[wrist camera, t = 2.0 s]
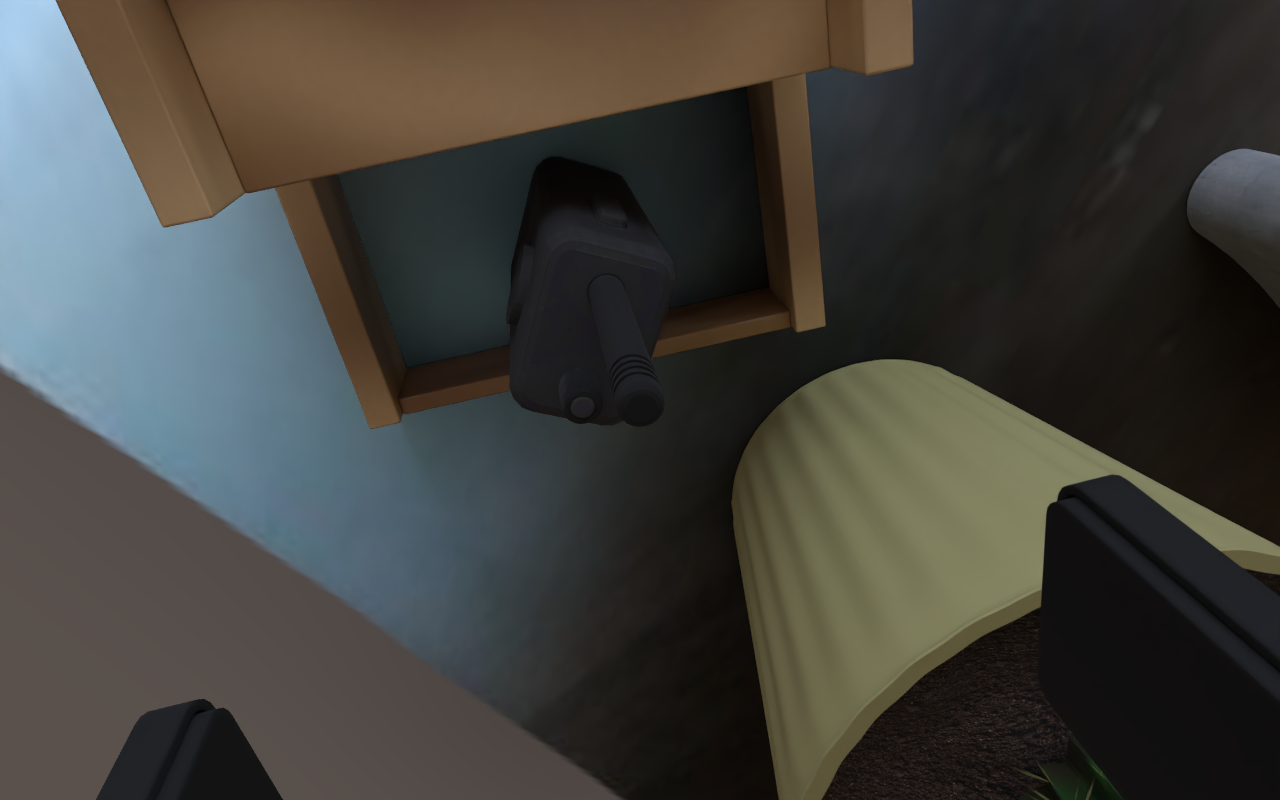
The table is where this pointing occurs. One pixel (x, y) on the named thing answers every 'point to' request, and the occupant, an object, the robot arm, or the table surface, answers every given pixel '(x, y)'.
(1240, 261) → the hip flask
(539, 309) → the walkie-talkie
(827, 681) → the potted cactus
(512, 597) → the table surface
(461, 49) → the step shelf
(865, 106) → the table surface
